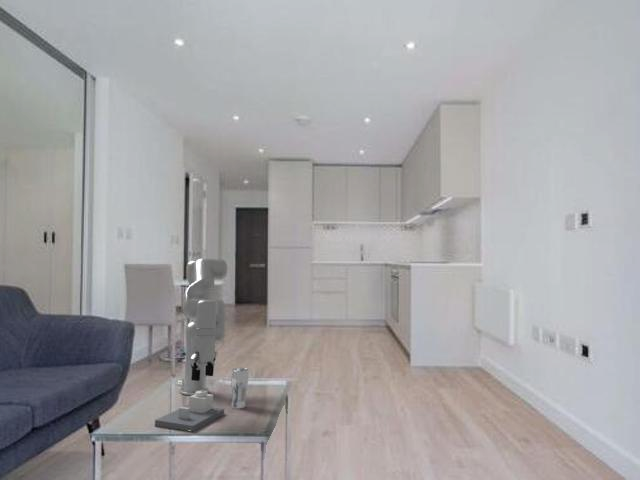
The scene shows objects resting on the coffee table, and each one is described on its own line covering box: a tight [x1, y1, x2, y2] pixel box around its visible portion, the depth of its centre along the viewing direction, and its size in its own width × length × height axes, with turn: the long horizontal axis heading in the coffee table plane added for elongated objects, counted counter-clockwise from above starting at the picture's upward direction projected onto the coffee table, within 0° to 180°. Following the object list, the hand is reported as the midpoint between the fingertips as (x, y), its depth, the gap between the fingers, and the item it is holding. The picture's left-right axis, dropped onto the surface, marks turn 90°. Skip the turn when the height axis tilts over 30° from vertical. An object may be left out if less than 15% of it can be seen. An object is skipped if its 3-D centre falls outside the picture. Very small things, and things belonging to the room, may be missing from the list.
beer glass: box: [230, 367, 249, 410], centre depth 184 cm, size 7×7×15 cm
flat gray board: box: [154, 404, 225, 432], centre depth 165 cm, size 15×22×6 cm
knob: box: [187, 390, 214, 413], centre depth 171 cm, size 7×7×7 cm
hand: (202, 378), depth 171 cm, fingers open, 9 cm apart
